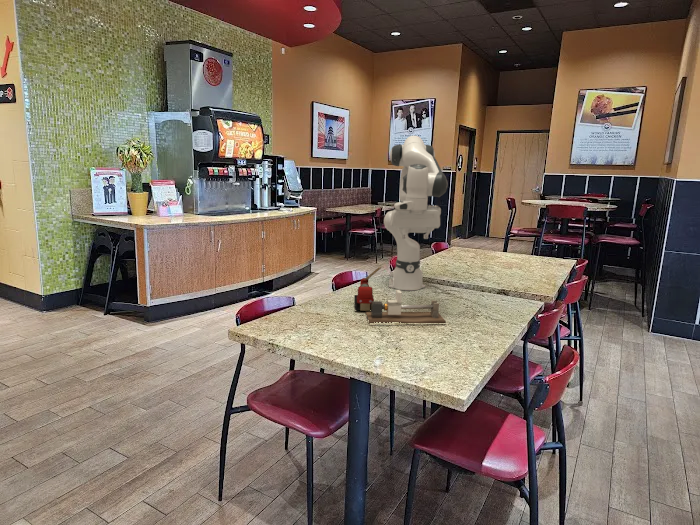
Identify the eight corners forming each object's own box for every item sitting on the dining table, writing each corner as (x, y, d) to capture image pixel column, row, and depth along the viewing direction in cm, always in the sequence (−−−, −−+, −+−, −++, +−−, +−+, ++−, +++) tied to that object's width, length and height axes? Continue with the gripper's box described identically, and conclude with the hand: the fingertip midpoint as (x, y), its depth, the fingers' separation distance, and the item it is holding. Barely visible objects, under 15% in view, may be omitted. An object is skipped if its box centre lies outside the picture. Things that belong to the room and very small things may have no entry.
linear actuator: (365, 315, 189) (366, 297, 187) (437, 315, 192) (438, 297, 190) (369, 325, 177) (370, 306, 176) (445, 325, 180) (446, 306, 178)
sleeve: (386, 311, 185) (387, 289, 183) (398, 311, 186) (399, 289, 184) (388, 314, 181) (389, 292, 179) (400, 314, 182) (401, 292, 180)
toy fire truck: (354, 312, 192) (355, 271, 189) (354, 302, 208) (355, 263, 204) (381, 313, 192) (383, 272, 189) (379, 302, 208) (380, 264, 204)
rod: (370, 315, 185) (371, 301, 184) (435, 314, 187) (436, 301, 186) (372, 318, 181) (372, 304, 180) (437, 317, 183) (438, 303, 182)
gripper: (439, 204, 191) (437, 237, 194) (390, 204, 189) (389, 237, 192) (443, 206, 185) (441, 240, 188) (393, 205, 183) (391, 239, 186)
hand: (414, 238), depth 190 cm, fingers open, 8 cm apart
